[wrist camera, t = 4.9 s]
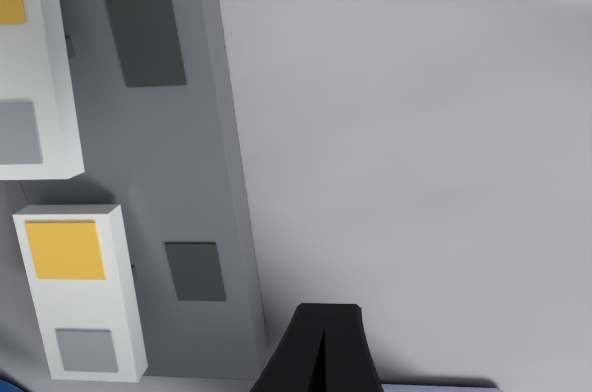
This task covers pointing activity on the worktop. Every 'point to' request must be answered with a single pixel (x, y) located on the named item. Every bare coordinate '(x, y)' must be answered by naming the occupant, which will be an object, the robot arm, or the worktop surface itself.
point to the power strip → (167, 177)
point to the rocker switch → (83, 291)
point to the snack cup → (8, 387)
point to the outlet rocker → (36, 94)
